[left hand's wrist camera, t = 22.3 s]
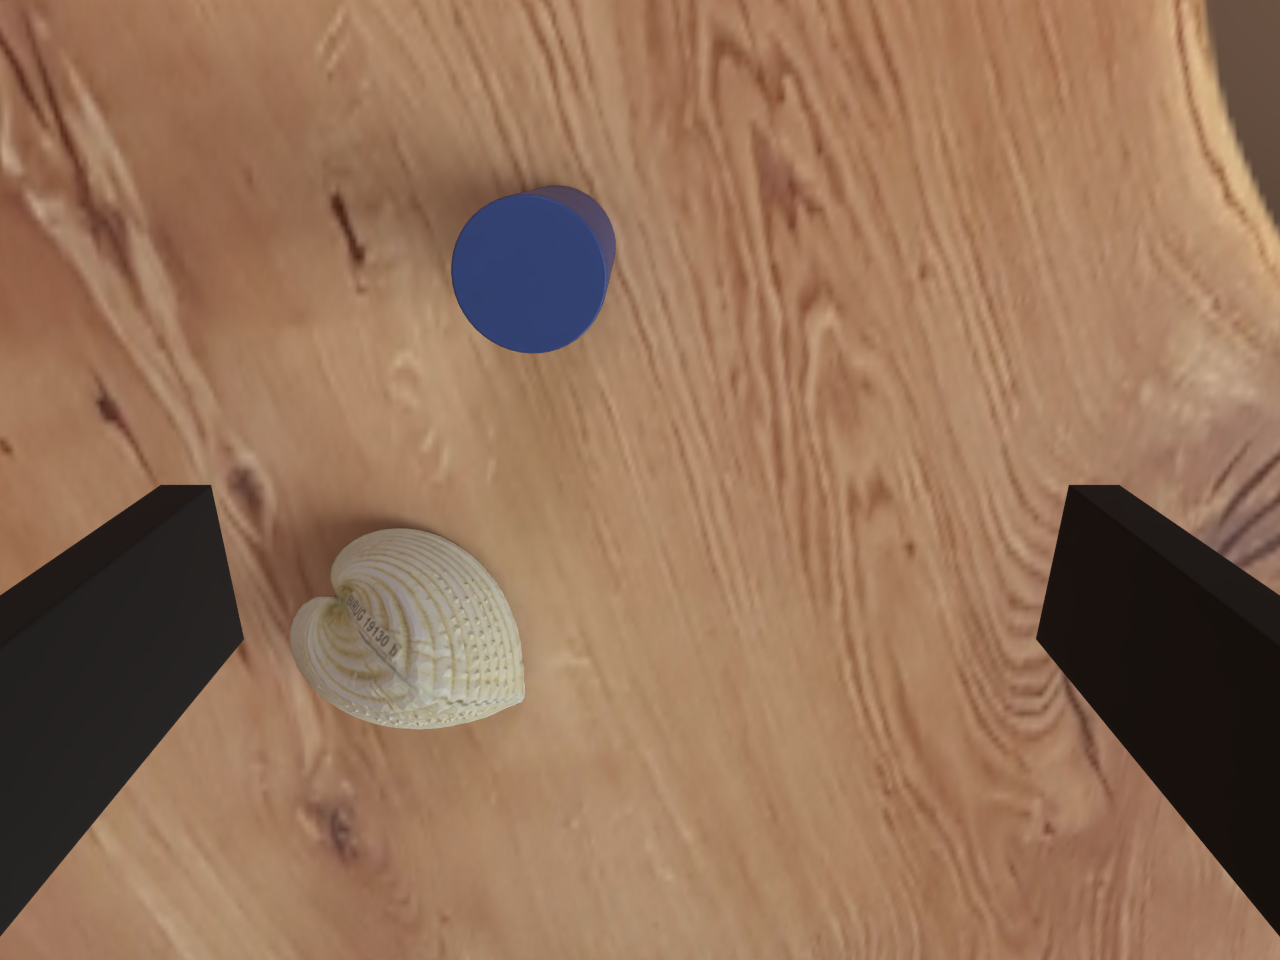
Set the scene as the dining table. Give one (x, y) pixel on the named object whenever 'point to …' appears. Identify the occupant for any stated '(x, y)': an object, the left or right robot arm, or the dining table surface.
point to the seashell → (410, 634)
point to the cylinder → (534, 268)
